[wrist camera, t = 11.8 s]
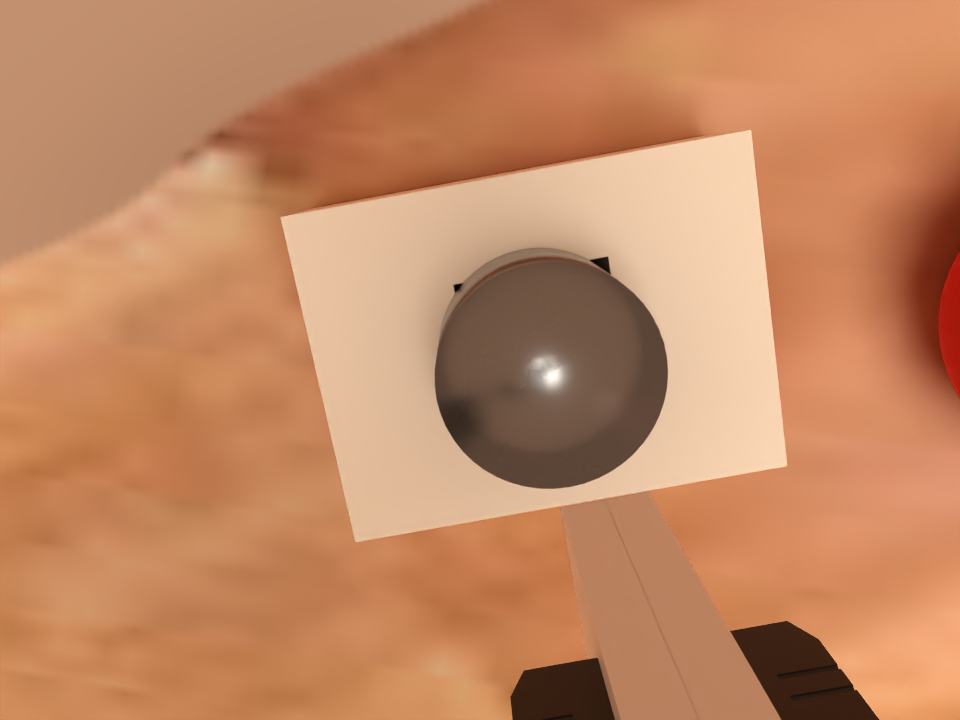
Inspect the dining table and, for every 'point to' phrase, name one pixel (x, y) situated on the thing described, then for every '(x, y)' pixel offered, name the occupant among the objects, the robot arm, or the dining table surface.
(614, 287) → the pin
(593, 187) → the block
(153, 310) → the dining table surface
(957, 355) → the ceramic cup
